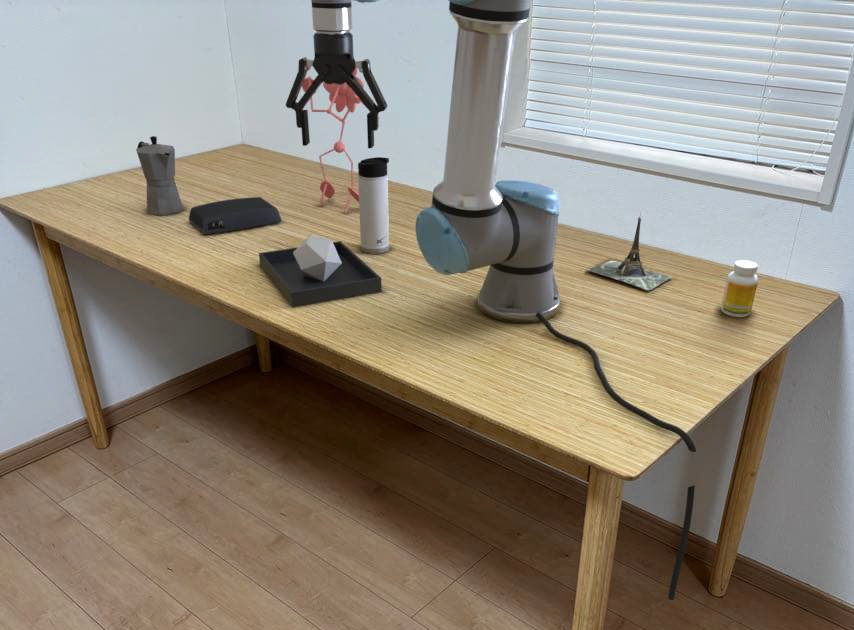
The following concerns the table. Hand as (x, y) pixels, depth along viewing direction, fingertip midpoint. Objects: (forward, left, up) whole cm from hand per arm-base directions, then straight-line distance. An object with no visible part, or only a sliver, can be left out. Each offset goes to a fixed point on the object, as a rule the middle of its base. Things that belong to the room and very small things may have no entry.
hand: (338, 145), depth 164 cm
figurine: (+33, -14, -23) cm, 43 cm away
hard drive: (+30, +17, -23) cm, 42 cm away
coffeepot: (+48, +31, -23) cm, 62 cm away
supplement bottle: (-60, -56, -23) cm, 85 cm away
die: (-12, +10, -23) cm, 27 cm away
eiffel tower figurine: (-37, -49, -23) cm, 66 cm away
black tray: (-12, +10, -23) cm, 28 cm away
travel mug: (-1, -7, -23) cm, 24 cm away
